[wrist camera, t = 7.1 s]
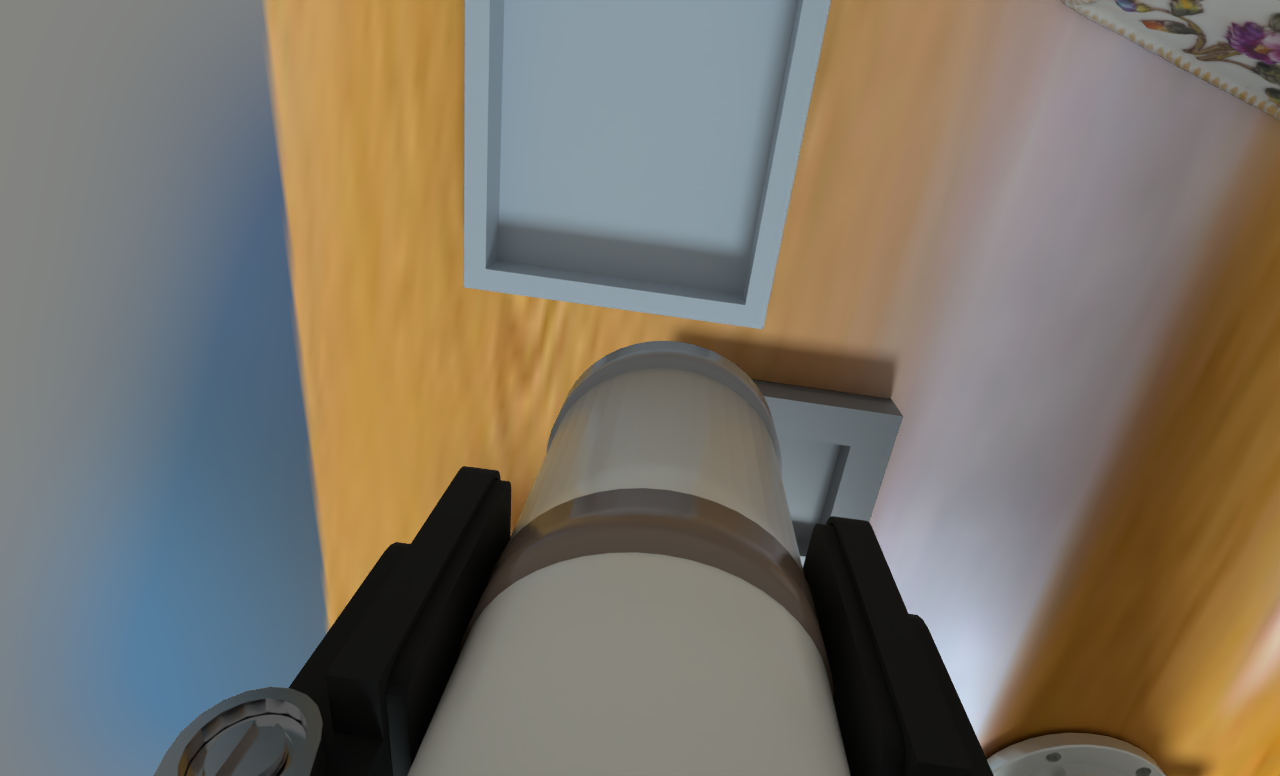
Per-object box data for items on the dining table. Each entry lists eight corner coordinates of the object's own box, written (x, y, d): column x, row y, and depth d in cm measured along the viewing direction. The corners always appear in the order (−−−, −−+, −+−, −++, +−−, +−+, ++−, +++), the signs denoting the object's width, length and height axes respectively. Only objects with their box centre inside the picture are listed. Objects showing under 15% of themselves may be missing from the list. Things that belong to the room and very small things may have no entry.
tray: (837, -78, 24) (850, -98, 22) (758, 313, 31) (762, 329, 28) (486, -117, 25) (465, -142, 23) (481, 275, 31) (464, 287, 29)
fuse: (796, 357, 13) (1404, 1865, 2) (753, 545, 15) (919, 1800, 4) (564, 327, 13) (-178, 1549, 2) (552, 517, 15) (155, 1648, 4)
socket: (891, 399, 32) (902, 416, 30) (828, 602, 37) (835, 627, 35) (678, 368, 32) (676, 383, 30) (647, 574, 38) (644, 597, 36)
